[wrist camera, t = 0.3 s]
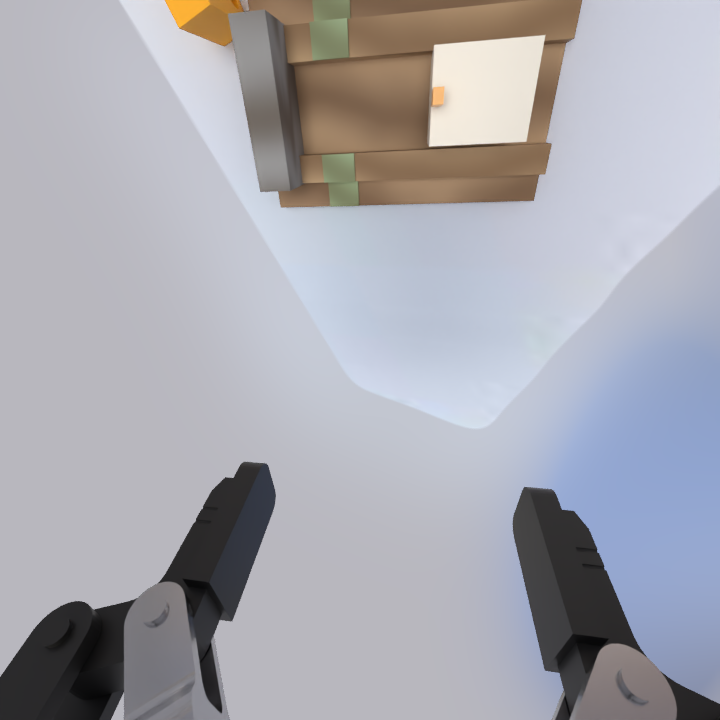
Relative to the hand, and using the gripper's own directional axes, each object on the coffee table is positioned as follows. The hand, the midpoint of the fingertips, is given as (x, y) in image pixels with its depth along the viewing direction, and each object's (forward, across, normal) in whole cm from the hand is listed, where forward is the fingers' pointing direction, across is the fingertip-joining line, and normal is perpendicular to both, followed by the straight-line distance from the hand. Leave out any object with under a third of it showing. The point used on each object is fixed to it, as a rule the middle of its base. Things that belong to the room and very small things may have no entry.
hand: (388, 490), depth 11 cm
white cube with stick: (+26, -4, -11) cm, 29 cm away
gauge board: (+28, +1, -11) cm, 30 cm away
